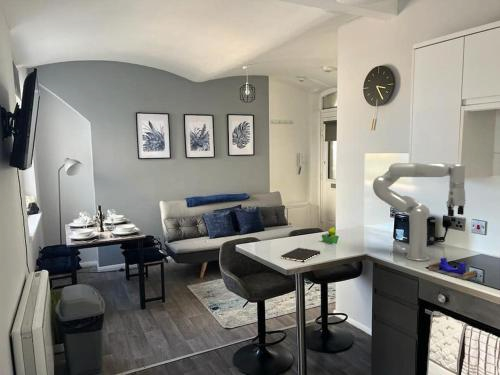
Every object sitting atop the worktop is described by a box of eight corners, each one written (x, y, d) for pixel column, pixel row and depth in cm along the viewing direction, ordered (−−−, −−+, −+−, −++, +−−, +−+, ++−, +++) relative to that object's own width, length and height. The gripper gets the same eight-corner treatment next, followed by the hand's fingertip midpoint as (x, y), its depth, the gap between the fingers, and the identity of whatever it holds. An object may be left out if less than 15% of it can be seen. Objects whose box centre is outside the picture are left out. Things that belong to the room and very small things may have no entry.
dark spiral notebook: (280, 259, 236) (280, 255, 235) (298, 250, 254) (298, 247, 254) (303, 263, 226) (303, 259, 226) (320, 254, 245) (320, 251, 245)
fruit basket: (320, 241, 276) (320, 226, 275) (329, 240, 281) (329, 225, 280) (331, 245, 267) (332, 229, 266) (340, 243, 272) (340, 227, 271)
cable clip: (438, 269, 207) (439, 258, 206) (443, 268, 209) (443, 257, 209) (460, 275, 197) (461, 264, 196) (465, 274, 199) (465, 262, 199)
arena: (428, 270, 208) (428, 264, 208) (439, 266, 214) (440, 261, 214) (465, 280, 191) (465, 274, 191) (476, 276, 197) (476, 270, 197)
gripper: (454, 187, 208) (453, 217, 209) (471, 185, 217) (470, 214, 218) (441, 186, 214) (440, 216, 216) (458, 184, 223) (457, 212, 225)
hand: (455, 215), depth 217 cm, fingers open, 9 cm apart
